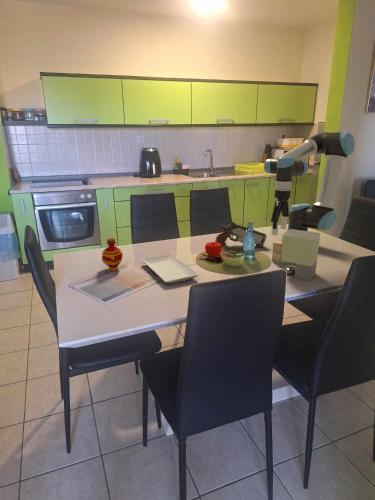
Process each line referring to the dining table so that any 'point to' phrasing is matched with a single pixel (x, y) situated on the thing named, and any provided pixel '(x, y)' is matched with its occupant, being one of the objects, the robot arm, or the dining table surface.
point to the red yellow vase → (112, 255)
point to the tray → (170, 268)
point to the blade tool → (278, 253)
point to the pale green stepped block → (301, 252)
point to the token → (290, 270)
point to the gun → (239, 235)
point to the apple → (213, 249)
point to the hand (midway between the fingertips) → (278, 231)
